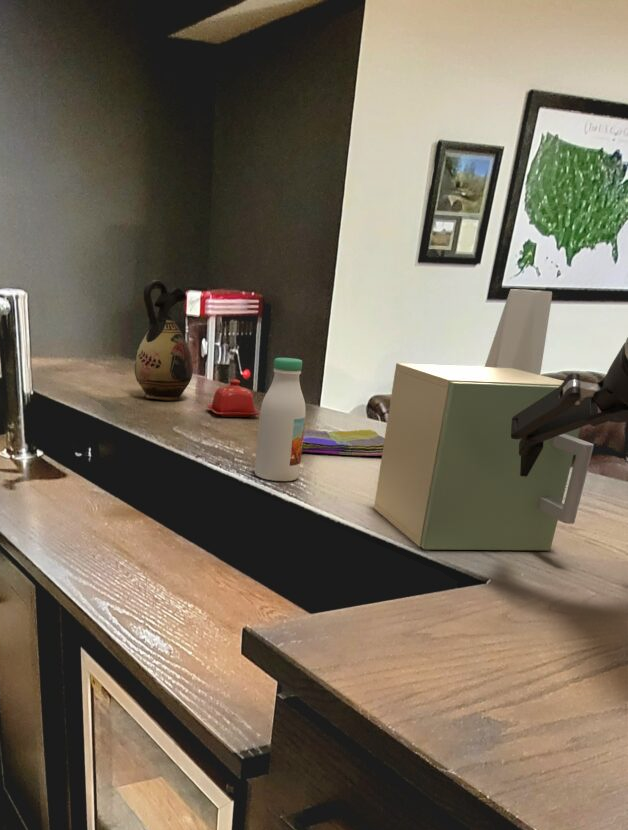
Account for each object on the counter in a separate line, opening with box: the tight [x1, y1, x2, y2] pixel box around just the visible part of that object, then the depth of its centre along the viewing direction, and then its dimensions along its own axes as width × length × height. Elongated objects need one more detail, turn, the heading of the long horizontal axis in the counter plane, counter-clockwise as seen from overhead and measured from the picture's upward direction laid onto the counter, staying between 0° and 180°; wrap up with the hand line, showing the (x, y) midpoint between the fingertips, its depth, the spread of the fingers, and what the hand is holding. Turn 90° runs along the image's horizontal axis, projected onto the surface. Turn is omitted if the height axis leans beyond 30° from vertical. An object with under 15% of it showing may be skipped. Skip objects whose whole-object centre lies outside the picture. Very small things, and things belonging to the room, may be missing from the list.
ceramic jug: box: [134, 279, 194, 401], centre depth 188 cm, size 17×15×30 cm
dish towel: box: [302, 428, 385, 457], centre depth 149 cm, size 18×24×3 cm
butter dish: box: [205, 378, 260, 418], centre depth 175 cm, size 12×12×8 cm
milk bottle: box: [253, 357, 307, 482], centre depth 122 cm, size 8×8×20 cm
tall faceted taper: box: [484, 288, 553, 375], centre depth 129 cm, size 12×12×33 cm
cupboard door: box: [420, 382, 595, 551], centre depth 90 cm, size 7×18×22 cm, turn 97°
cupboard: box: [373, 362, 564, 548], centre depth 101 cm, size 16×18×22 cm
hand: (585, 474), depth 85 cm, fingers open, 13 cm apart
